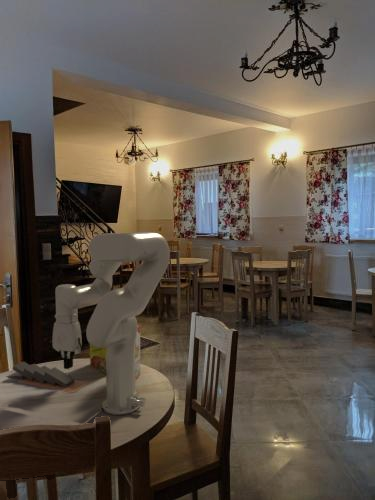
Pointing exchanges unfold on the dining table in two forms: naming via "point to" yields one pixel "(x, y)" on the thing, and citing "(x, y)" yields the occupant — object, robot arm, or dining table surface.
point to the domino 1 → (16, 376)
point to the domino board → (70, 388)
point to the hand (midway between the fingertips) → (68, 367)
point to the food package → (98, 358)
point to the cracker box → (137, 354)
